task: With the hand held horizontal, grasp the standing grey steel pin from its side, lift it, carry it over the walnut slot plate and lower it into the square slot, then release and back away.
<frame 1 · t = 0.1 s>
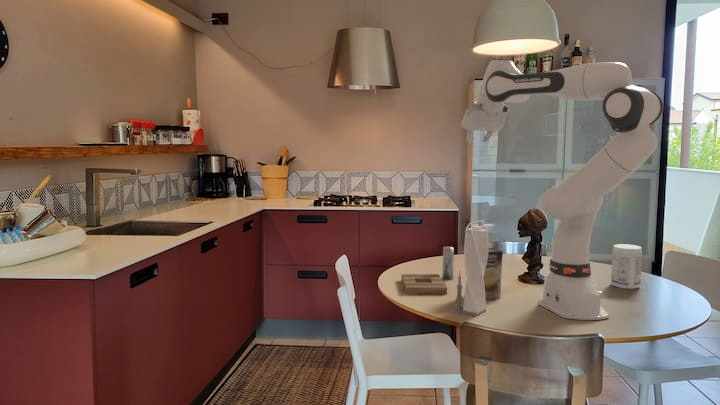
hand: (477, 141, 191), 52 cm above the table, tool tilted 20°, fingers open, 8 cm apart
skyscraper: (473, 311, 161), on the table
slot plate: (423, 286, 188), on the table
coffee box: (483, 297, 176), on the table
steel pin: (447, 278, 200), on the table
supplement tub: (625, 286, 190), on the table
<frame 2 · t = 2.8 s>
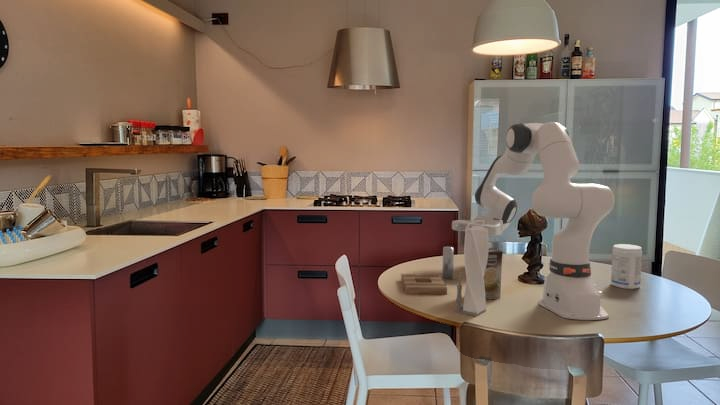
hand: (465, 229, 206), 17 cm above the table, tool horizontal, fingers open, 8 cm apart
nothing on the table moved.
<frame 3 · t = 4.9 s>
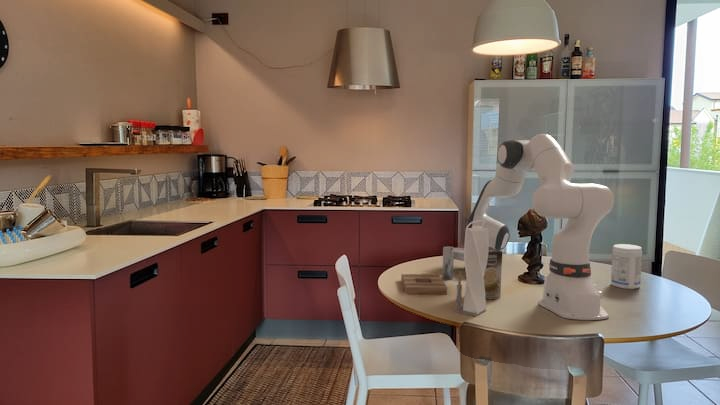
hand: (459, 259, 204), 6 cm above the table, tool horizontal, fingers open, 8 cm apart
nothing on the table moved.
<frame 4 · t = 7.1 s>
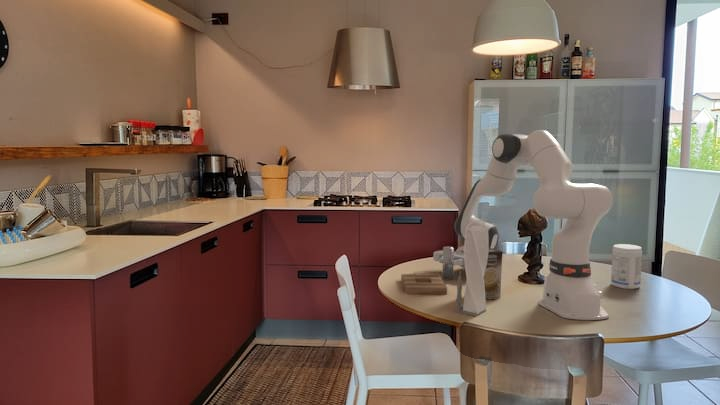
hand: (446, 262, 198), 7 cm above the table, tool horizontal, fingers closed on steel pin, 4 cm apart
steel pin: (447, 278, 200), on the table, touching gripper
everything else where it was.
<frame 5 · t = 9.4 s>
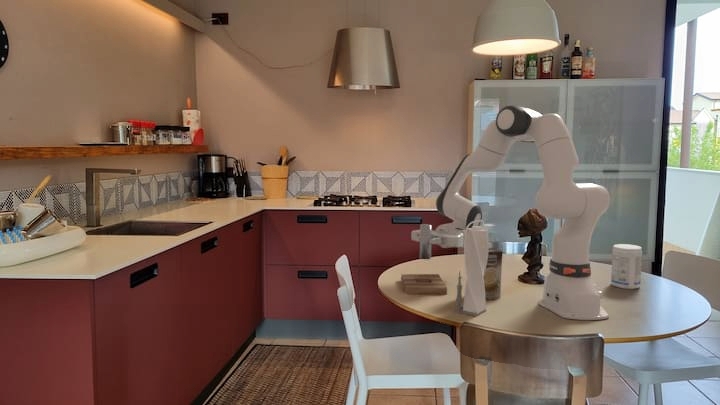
hand: (424, 240, 186), 17 cm above the table, tool horizontal, fingers closed on steel pin, 4 cm apart
steel pin: (425, 258, 187), point 10 cm above the table, touching gripper
everything else where it was.
when the fingers open (8 cm above the table, at t = 12.0 s): steel pin drops 1 cm, resting in slot plate.
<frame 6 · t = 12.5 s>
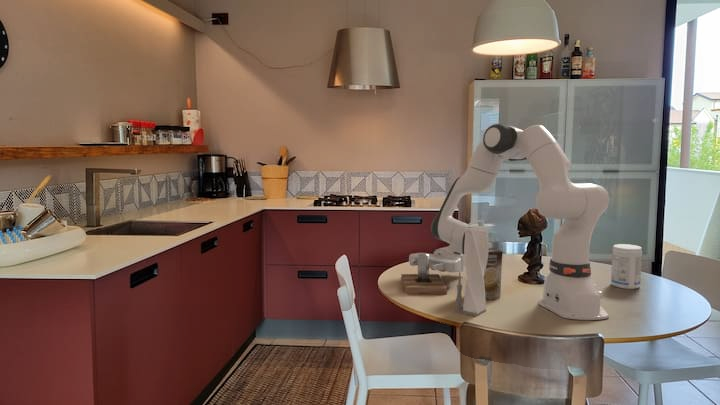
hand: (421, 265, 186), 8 cm above the table, tool horizontal, fingers open, 8 cm apart
steel pin: (423, 286, 188), resting in slot plate
everything else where it was.
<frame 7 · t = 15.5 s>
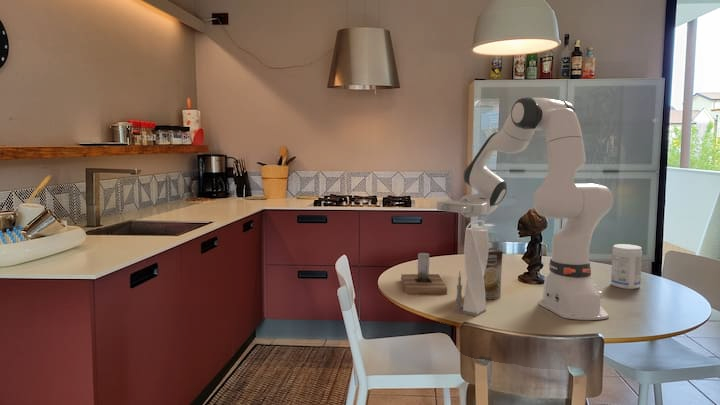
hand: (450, 208, 196), 27 cm above the table, tool horizontal, fingers open, 8 cm apart
nothing on the table moved.
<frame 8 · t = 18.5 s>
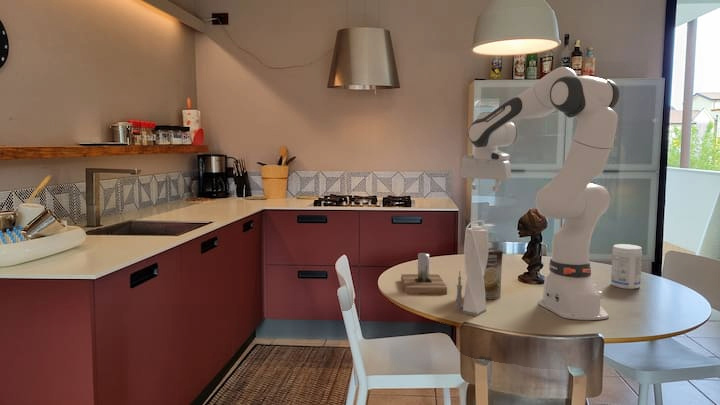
hand: (484, 190, 204), 33 cm above the table, tool pointing down, fingers open, 8 cm apart
nothing on the table moved.
at the end: steel pin 0.0 cm off-centre on the slot plate, point 0.0 cm above the slot plate's base; steel pin tilted 0°; the gripper is holding nothing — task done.
